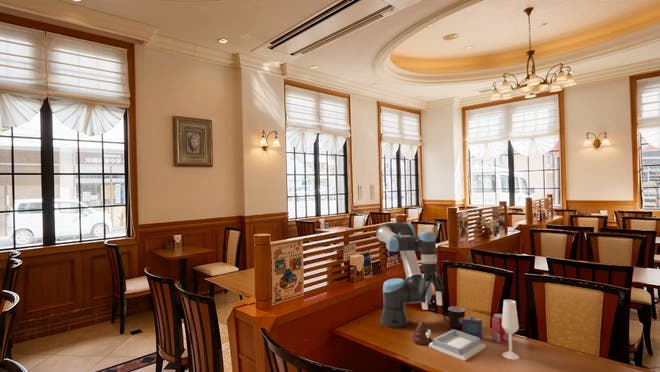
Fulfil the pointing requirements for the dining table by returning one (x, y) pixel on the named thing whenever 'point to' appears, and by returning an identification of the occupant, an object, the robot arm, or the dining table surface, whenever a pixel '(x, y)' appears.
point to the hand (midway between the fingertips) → (432, 307)
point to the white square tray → (458, 344)
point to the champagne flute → (510, 325)
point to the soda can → (498, 329)
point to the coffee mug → (455, 317)
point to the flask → (472, 326)
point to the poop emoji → (421, 334)
